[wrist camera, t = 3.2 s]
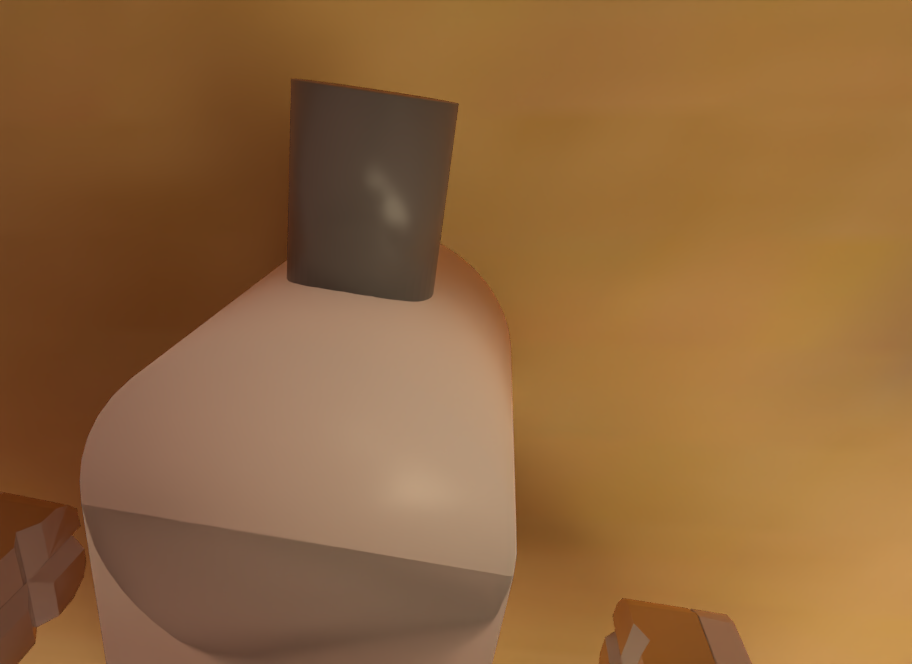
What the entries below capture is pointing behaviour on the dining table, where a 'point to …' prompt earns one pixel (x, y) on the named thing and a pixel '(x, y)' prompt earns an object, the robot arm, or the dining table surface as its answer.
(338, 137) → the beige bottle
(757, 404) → the dining table surface
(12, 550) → the robot arm
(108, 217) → the dining table surface
